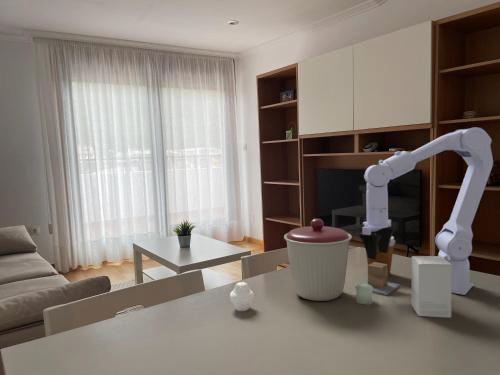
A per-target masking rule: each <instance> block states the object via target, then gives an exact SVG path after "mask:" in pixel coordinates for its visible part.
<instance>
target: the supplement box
mask: <svg viewBox="0 0 500 375" xmlns="http://www.w3.org/2000/svg"><path fill="white" fill-rule="evenodd" d="M451 283H452V264H450V263H449V262H448V261H447V260H446V259H444V258H443V257H442V256H438V255H437V256H436V255H435V256H434V255H433V256H431V255H428V256H427V255H414V256H413V255H412V256H411V301H410V302H411V305H412V308H413V309H414V311H415V312H416V314H417V316H418V317H434V318H449V319H450V318H452V292H451Z"/></svg>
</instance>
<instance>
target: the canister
mask: <svg viewBox="0 0 500 375" xmlns="http://www.w3.org/2000/svg"><path fill="white" fill-rule="evenodd" d="M352 236H353V235H352V234H350V233H349V232H348V231H346V230H344V229H342V228H340V227H339V228H338V227H334V226H333V227H332V226H325V225H324V221H323V220H322V219H321V218H313V219H312V220H311V221H310V226H301V227H297V228H293V229H292V230H290V231H289V232H287V233H286V234H284V236H283V239H284V240H285V241H286V246H287V255H288V260H289V269H290V274H291V282H292V286H293V289H294V292H295V293H296V294H297V295H298V296H299V297H301V298H303V299H306V300H309V301H314V302H316V301H317V302H325V301H331V300H335V299H337V298H338V297H340V296H341V294H343V291H344V289H345V284H346V275H347V268H348V267H347V266H348V256H349V248H350V246H349V245H350V241H351V240H352Z"/></svg>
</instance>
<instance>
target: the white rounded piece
mask: <svg viewBox="0 0 500 375" xmlns="http://www.w3.org/2000/svg"><path fill="white" fill-rule="evenodd" d="M254 297H255V294H254V292H253V291H252V290H251V288H250V287H249V284H248V283H247V282H245V281H240V282H237V283H236V284H235V285H234V288H233V290H232V291H231V292H230V294H229V299H230V302H231V303H232V305H233V306H234V308H235V309H236V311H237V312H245V311H248V310H249V309H250V308H251V305H252V303H253V300H254Z"/></svg>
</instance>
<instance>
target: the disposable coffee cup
mask: <svg viewBox="0 0 500 375" xmlns="http://www.w3.org/2000/svg"><path fill="white" fill-rule="evenodd" d="M374 234H375V235H376V233H374ZM395 243H396V240H395V237H394V236H393V235H392V237H391V239H390V243H389V247H388V251H387V253H382V252H379V248H377V256H376V259H370V258H368V257H367V253H366V252H365V253H366V256H365V257H366V261H367V266H368V265H369V264H371V263H373V262H376V263H382V264H387V278H388V277H390V276H391V268H392V261H393V255H394V247H395Z"/></svg>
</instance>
